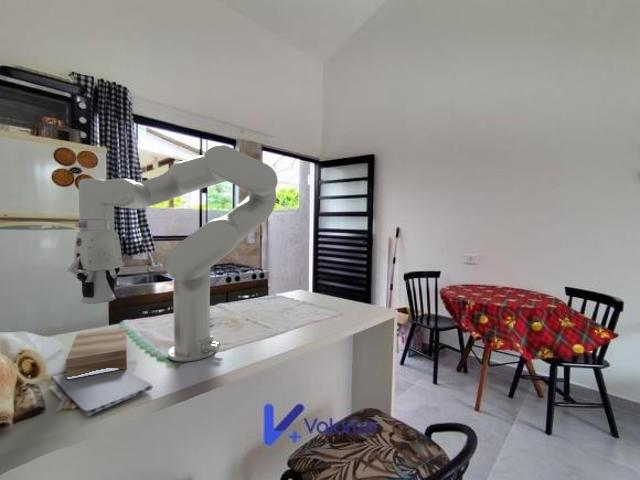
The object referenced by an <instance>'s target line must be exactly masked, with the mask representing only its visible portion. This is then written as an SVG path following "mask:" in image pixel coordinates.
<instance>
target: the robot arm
mask: <svg viewBox="0 0 640 480" xmlns="http://www.w3.org/2000/svg"><path fill="white" fill-rule="evenodd" d="M226 182H228V183H230V184H233V185H235V186H237V187H239V188H241V189H243V190H246V191H247V192H248V194H247V195H246V196H247V197H246V198H245V199H244V200H243V201H241V202H240V203H239V204H237V205H236V206H234V207H233V208H232V209H231V210H230V211H229V212H227V213H225V214H224V215H223V216H221V217H218V218H215V219H212V220H209V221H208V222H206V223H204V224H203V225H202V226H200V227H199V228H198V229H196V230H195V231H194V232H192V233H191V234H190V235H188V236H187V237H186V238H185V239H183V240H182V241H180V242H178V243H177V244H176V245H175V246H174V247H172V248H171V249H170V250H169V251H168V253H167V255H166V257H165V261H164V267H165V270H166V272H167V274H168V275H169V276H170V277H171V278H172V279H173V346H172V347H170V348H169V349H168V351H167V357H168V358H169V359H170V360H172V361H174V362H194V361H200V360H202V359H206V358H208V357H210V356H212V355H213V354H214V353H218V352H219V350H220V347H221V342H218V341H214V336H213V335H211V312H210V311H211V306H210V305H211V304H210V300H211V295H210V294H211V268H212V267H213V266H215V264H217V263H219V261H220V262H221V260H222V259H224V258H225V257H226V256H227V255H229V254H230V253H231V252H232V251H234V250H235V248H236V247H237V246H238V245H239V243H240V242H242V241H243V240H244V239H245V238H247V237H248V236H249V235H250V234H251V233H253V232H254V231H255V230H256V229H257V228H259V227H260V226H261V225H263V223H265V222H266V221H267V219H269V217H270V216H271V214H272V213H273V211H274V209H275V207H276V202H277V192H276V190H277V186H278V175H277V172H276V171H275V169H273V167H271V166H270V165H268V164H267V163H265V162H263V161H261V160H259V159H256V158H255V157H251V156H250V155H248V154H245V153H244V152H242V151H239V150H237V149H235V148H233V147H230V146H228V145H225V144H214V145H212V146H210V147H209V148H208V149H207V150H206V151H205V153H204V154H203V155H199V156H196V157H192V158H189V159H185V160H182V161H178V162H176V163H173V164H172V165H171V166H170V167H169V169H167V171H165V172H164V173H162V174H160V175H158V176H154V177H152V178H149V179H144V180H142V181H135V180H132V179H128V178H114V179H111V178H110V179H102V178H101V179H100V178H82V179H80V180H79V182H78V212H79V213H78V215H79V218H78V221H76V222H75V223H74V224H75V225H74V226H75V228H78V229H79V231H77V233H76V238H75V242H74V248H73V249H74V251H73V252H74V253H73V262H72V264H71V265H70V266H69V267H68V269H67V272H68V273H69V274H71V275H72V276H74V277H75V278H76V279H77V280H78V281H79V282H80V283H81V294H82V298H83V297H88V298H92V297H93V296H94V283H93V282H91V279H92V275H93V271H96V270H104V272H105V276H106V279H107V281H108V283H109V286H110V288H111V290H112V292H113V294H114V293H115V279H116V278H117V275H118V273H119V272H120V270H122V269H123V268H124V266H125V262H124V261H123V259H122V249H121V248H122V247H121V242H120V237H119V234H118V232H117V231H115V210H114V209H115V207H117V208H118V207H119V208H125V209H134V210H139V209H144V208H145V209H146V208H148V207H151V206H155V205H158V204H161V203H164V202H168V201H170V200H173V199H175V198H179V197H183V196H184V195H187V194H189V193H192V192H194V191H198V190H202V189H205V188H208V187H212V186H216V185H218V184H219V185H220V184H223V183H226Z"/></svg>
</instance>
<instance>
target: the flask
mask: <svg viewBox="0 0 640 480" xmlns="http://www.w3.org/2000/svg"><path fill="white" fill-rule="evenodd" d="M91 282H93V283H94V296H93V297H92V298H88V297H83V296H82V299H81V301H80V303H82V304H86V305H87V304H88V305H89V304H90V305H91V304H94V305H95V304H102V303H110V302H111V301H113V300H116V299H117V298H116V296H115V294H114V293H113V292H112V290H111V288H110V286H109V283H108V281H107V279H106V276H105V272H104V270H96V271H93V275H92V279H91Z"/></svg>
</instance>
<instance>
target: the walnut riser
mask: <svg viewBox="0 0 640 480" xmlns="http://www.w3.org/2000/svg"><path fill="white" fill-rule="evenodd" d="M127 347H128V346H127V326H126V327H119V328H110V329H105V330H104V329H103V330H97V331H96V330H95V331H89V332H80V333H77V334H76V335H75V338H74V340H73V343H72V345H71V347H70V350H69V351H68V354H67V356H66V360H65V362H66V363H65V368H66V378H67V377H72V376H78V375H81V374H85V373H89V372H92V371H96V370H101V369H106V368H118V369H124V370H127V369H128V360H127V359H128V358H127V357H128V355H127V353H128V352H127V350H128V349H127Z"/></svg>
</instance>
